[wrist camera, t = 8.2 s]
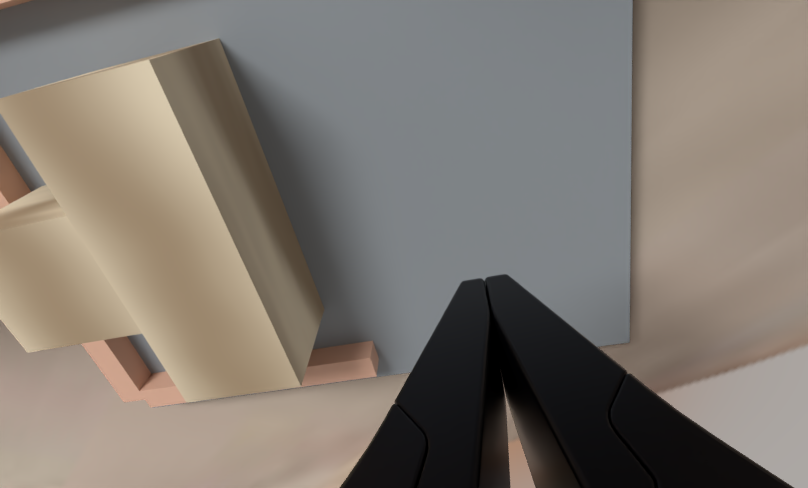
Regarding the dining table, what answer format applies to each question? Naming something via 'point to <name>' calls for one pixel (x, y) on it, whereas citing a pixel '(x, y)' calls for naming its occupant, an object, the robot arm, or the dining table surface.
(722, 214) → the dining table surface
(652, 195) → the dining table surface
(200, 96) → the t block
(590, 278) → the board
